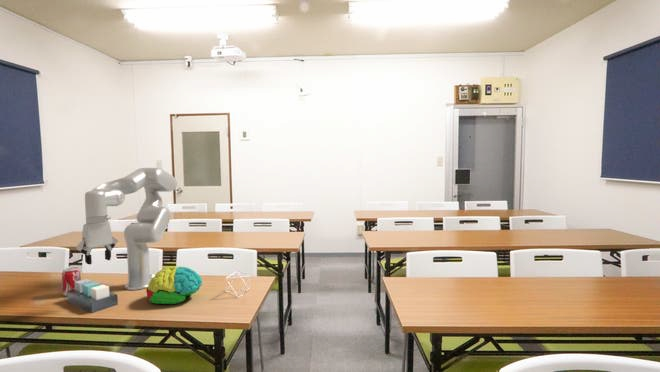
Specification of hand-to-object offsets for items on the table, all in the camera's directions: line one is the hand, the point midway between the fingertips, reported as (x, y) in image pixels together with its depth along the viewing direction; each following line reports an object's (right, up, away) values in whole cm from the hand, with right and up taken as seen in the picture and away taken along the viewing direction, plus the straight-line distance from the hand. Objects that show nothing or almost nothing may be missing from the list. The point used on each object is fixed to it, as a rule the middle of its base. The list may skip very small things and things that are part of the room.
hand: (98, 261), depth 146 cm
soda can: (-23, -19, +16) cm, 34 cm away
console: (-6, -19, +5) cm, 21 cm away
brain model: (+28, -19, +9) cm, 36 cm away
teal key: (-6, -16, +5) cm, 18 cm away
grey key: (-13, -16, +9) cm, 22 cm away
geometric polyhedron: (+55, -19, +16) cm, 60 cm away
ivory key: (0, -16, +1) cm, 16 cm away
